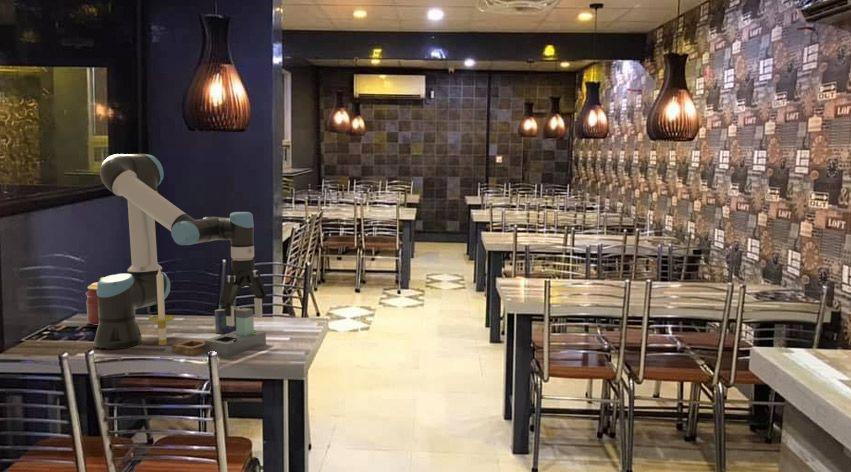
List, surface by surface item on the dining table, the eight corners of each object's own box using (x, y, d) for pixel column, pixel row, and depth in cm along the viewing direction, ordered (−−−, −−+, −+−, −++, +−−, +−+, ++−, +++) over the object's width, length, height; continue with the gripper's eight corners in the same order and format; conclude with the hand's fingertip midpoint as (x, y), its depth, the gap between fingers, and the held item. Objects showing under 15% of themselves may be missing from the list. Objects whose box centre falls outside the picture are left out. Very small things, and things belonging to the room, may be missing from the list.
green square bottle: (236, 345, 248) (235, 310, 247) (245, 342, 252) (244, 307, 250) (245, 346, 246) (244, 311, 245) (254, 343, 250) (253, 309, 248)
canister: (86, 327, 278) (83, 281, 276) (88, 320, 290) (85, 275, 288) (123, 324, 282) (121, 278, 280) (123, 317, 294) (121, 273, 292)
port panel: (205, 355, 240) (204, 339, 239) (243, 342, 256) (243, 327, 255) (228, 359, 235) (227, 343, 234) (266, 346, 251) (265, 330, 250)
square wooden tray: (172, 354, 241) (171, 345, 241) (193, 347, 249) (192, 339, 249) (192, 357, 237) (191, 348, 237) (212, 351, 245) (212, 342, 245)
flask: (215, 335, 266) (214, 305, 265) (215, 333, 269) (214, 304, 268) (241, 333, 269) (241, 304, 267) (241, 331, 271) (240, 303, 270)
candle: (155, 342, 257) (152, 265, 253) (183, 342, 256) (180, 265, 252) (141, 349, 247) (137, 270, 244) (170, 350, 246) (167, 270, 243)
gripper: (224, 264, 233) (226, 330, 235) (276, 254, 255) (277, 315, 257) (206, 262, 237) (209, 327, 239) (259, 253, 258) (261, 312, 261)
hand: (244, 321), depth 248 cm, fingers open, 13 cm apart
